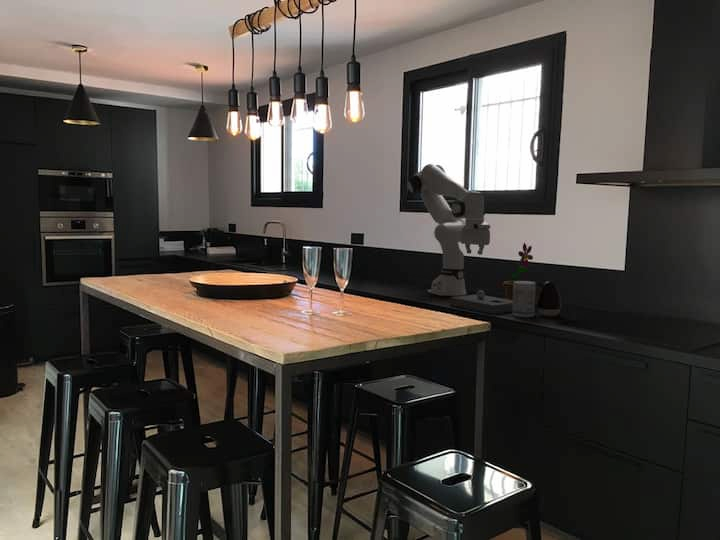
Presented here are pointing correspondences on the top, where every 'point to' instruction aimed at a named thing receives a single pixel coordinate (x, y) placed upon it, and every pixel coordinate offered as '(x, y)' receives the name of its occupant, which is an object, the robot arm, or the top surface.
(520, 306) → the supplement tub
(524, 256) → the flowerpot
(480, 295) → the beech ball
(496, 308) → the board
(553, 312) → the dark brown egg shape
